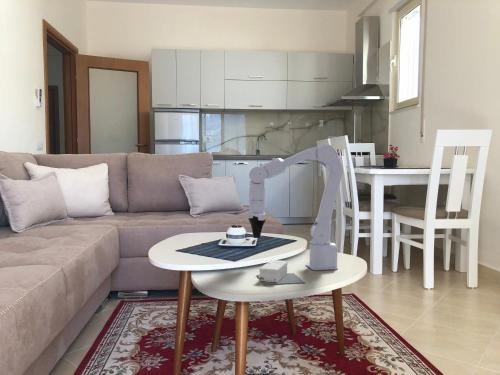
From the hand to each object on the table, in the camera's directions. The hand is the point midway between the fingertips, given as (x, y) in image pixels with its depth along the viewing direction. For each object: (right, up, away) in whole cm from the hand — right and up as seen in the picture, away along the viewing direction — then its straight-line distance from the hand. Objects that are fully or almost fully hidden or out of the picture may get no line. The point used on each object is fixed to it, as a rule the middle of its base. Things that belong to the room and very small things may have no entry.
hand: (256, 237), depth 151 cm
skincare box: (+7, -9, -10) cm, 15 cm away
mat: (+7, -11, -17) cm, 22 cm away
